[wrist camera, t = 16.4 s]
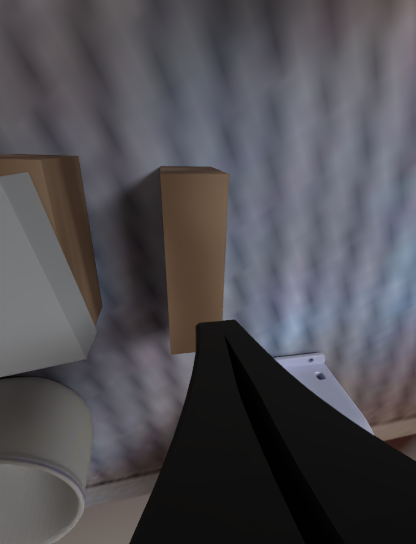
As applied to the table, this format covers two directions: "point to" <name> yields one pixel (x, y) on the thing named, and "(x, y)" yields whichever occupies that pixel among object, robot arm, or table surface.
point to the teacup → (42, 459)
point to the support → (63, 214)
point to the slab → (36, 287)
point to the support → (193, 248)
